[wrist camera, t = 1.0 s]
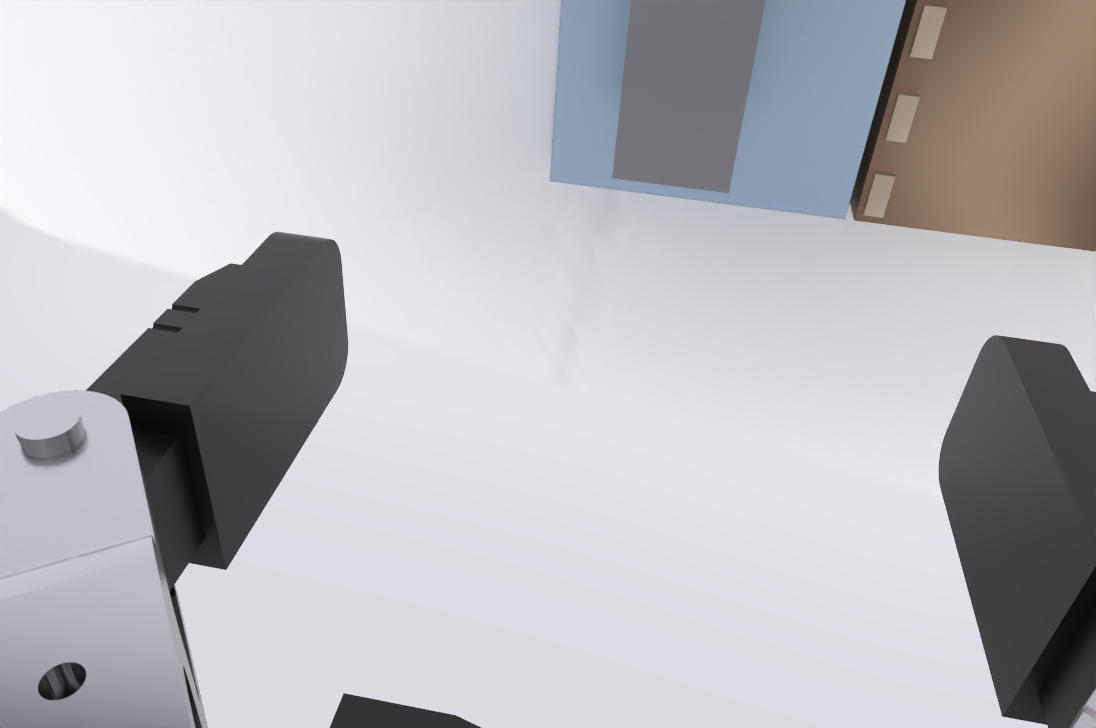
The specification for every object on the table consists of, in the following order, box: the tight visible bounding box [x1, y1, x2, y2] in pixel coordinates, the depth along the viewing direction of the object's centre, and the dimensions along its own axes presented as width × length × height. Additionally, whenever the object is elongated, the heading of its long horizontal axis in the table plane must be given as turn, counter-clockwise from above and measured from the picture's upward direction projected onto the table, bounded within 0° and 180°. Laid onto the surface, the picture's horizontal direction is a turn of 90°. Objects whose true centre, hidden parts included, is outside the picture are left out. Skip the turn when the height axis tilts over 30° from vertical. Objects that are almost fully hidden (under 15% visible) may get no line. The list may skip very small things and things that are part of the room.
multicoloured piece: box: [550, 0, 906, 219], centre depth 24 cm, size 10×12×8 cm
